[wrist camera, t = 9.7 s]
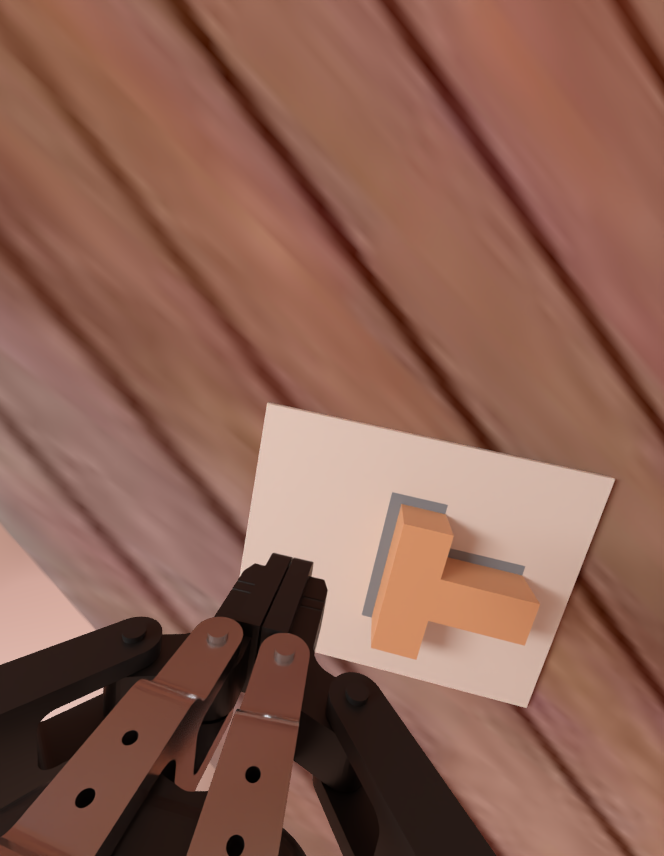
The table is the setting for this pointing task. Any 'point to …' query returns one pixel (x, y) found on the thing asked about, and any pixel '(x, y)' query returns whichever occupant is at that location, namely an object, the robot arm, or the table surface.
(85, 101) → the table surface
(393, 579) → the t block
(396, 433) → the board
